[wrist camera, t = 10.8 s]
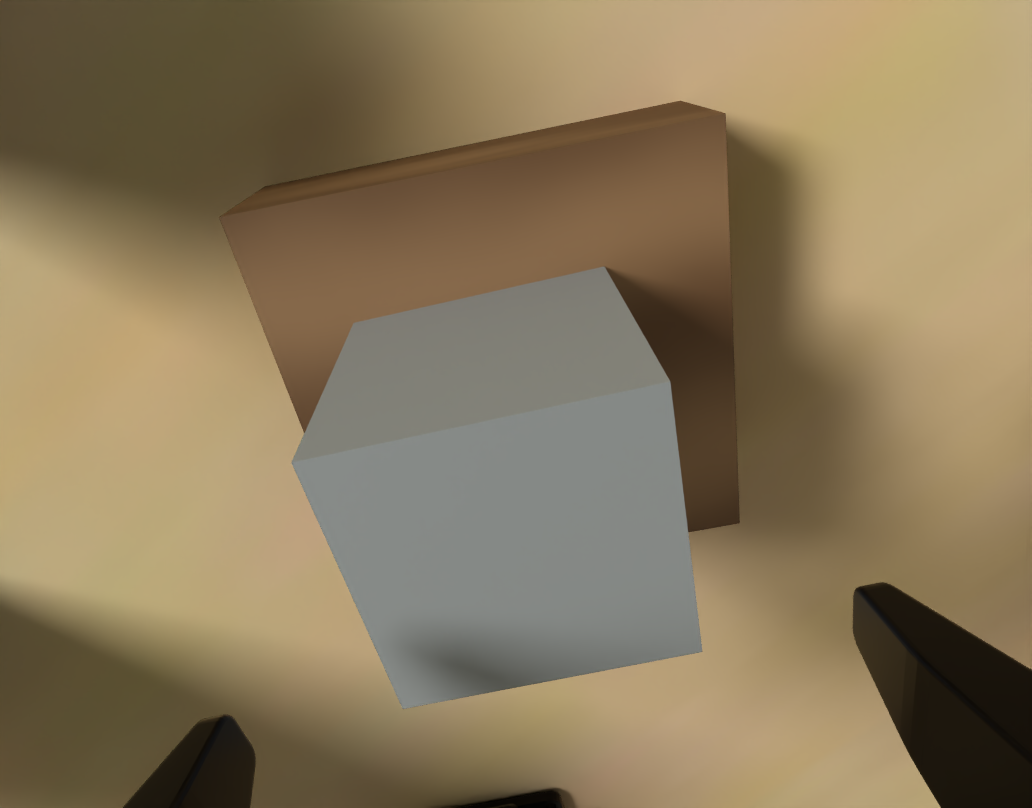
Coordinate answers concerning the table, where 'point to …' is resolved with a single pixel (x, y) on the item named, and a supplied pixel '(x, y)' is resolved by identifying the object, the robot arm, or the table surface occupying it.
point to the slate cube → (505, 490)
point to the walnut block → (519, 256)
